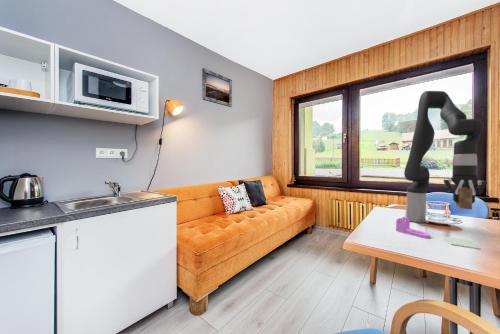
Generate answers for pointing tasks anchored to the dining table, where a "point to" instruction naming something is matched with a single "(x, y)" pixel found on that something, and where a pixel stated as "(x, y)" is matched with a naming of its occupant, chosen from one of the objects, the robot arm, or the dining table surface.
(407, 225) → the bracket
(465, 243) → the mat
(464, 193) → the walnut block
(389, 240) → the dining table surface
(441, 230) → the dining table surface
